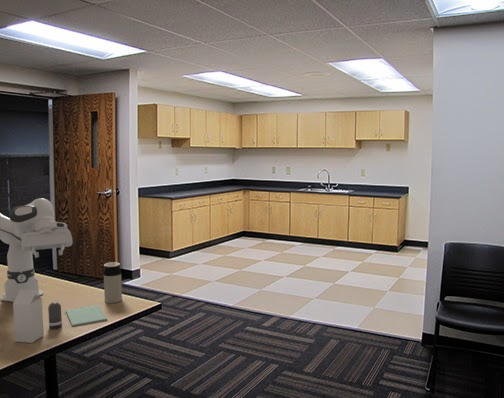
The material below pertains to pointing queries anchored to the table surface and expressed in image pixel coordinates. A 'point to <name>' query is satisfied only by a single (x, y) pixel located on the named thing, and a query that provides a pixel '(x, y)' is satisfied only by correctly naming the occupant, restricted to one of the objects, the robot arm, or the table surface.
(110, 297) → the travel mug
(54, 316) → the cylinder
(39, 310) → the milk carton
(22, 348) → the table surface
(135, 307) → the table surface
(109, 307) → the table surface
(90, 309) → the sage green mat
